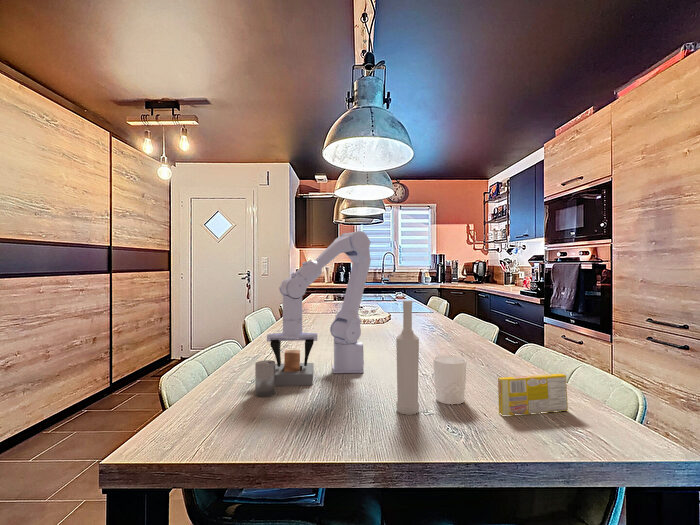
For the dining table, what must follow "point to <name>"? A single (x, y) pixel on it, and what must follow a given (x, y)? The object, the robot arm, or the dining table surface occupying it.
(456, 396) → the white cup
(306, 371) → the bore block
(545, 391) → the candy box
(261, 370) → the round dowel
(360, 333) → the robot arm
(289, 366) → the square peg
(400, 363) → the bottle
